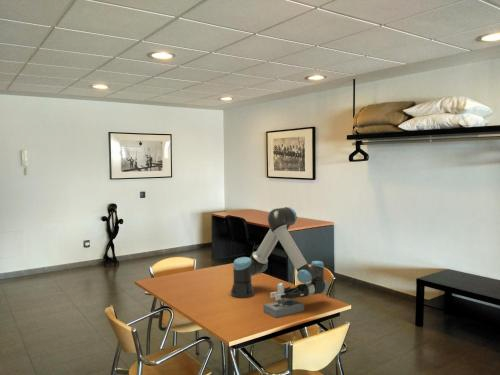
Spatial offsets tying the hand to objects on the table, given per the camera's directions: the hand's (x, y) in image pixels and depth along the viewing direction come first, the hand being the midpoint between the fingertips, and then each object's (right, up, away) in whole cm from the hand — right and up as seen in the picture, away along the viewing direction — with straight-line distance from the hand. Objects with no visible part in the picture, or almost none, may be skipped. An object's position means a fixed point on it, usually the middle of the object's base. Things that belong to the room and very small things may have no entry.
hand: (273, 296), depth 224 cm
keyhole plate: (+6, -10, +4) cm, 12 cm away
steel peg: (+5, -9, +3) cm, 11 cm away
